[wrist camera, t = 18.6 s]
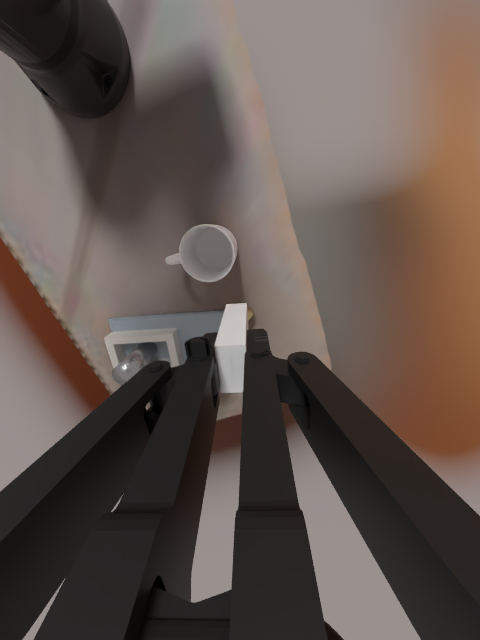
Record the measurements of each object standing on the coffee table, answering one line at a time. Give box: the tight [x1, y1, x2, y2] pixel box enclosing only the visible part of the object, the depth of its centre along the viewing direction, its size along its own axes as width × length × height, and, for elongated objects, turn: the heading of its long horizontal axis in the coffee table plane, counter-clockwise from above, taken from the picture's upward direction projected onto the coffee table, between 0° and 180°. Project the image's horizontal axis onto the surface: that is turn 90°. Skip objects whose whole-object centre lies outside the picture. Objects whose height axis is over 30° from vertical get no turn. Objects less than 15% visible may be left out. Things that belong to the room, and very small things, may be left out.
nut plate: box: [104, 310, 224, 368], centre depth 47 cm, size 16×24×10 cm, turn 95°
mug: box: [165, 224, 238, 282], centre depth 39 cm, size 12×8×10 cm
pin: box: [112, 342, 157, 385], centre depth 46 cm, size 4×4×10 cm
